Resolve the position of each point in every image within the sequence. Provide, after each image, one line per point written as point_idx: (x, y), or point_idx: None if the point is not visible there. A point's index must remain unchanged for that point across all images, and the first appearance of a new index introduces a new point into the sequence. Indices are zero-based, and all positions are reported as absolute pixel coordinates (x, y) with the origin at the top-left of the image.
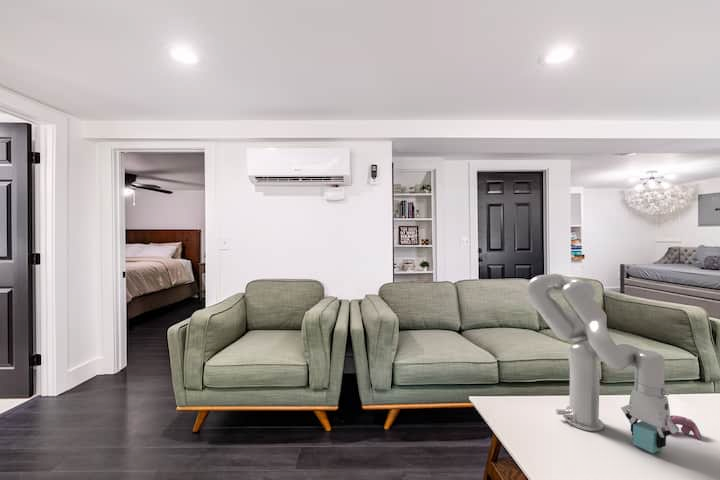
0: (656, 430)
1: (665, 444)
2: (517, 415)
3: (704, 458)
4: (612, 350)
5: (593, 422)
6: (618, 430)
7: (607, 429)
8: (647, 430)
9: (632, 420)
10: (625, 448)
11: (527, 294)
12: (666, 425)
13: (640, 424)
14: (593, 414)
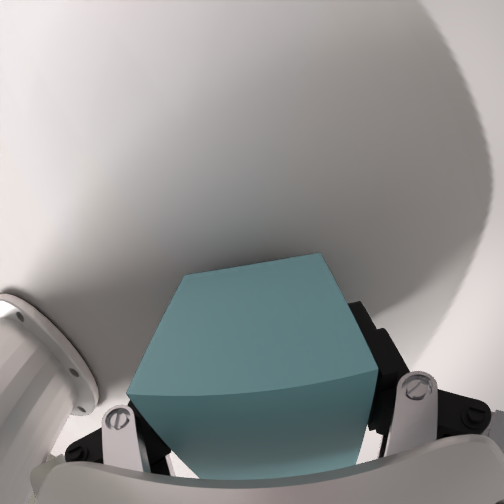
0: (347, 436)
1: (385, 335)
2: (61, 444)
3: (430, 59)
4: None
5: (67, 398)
6: (71, 277)
7: (69, 322)
8: (305, 473)
9: (159, 474)
10: None
11: None
12: (453, 440)
13: (209, 459)
14: (51, 428)
